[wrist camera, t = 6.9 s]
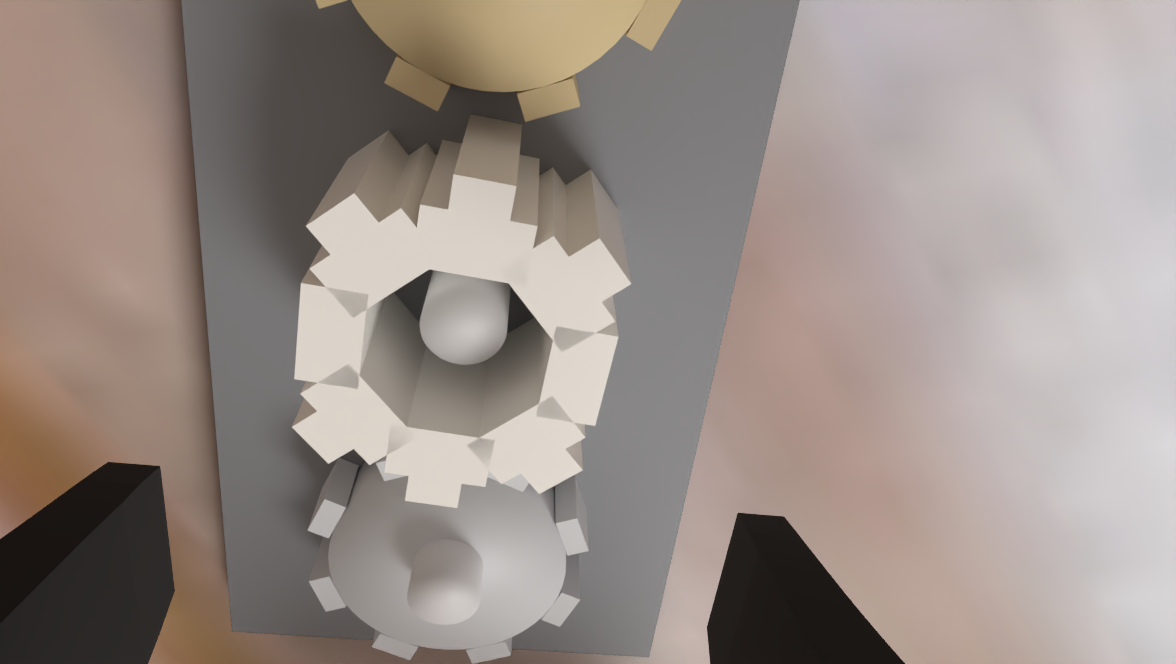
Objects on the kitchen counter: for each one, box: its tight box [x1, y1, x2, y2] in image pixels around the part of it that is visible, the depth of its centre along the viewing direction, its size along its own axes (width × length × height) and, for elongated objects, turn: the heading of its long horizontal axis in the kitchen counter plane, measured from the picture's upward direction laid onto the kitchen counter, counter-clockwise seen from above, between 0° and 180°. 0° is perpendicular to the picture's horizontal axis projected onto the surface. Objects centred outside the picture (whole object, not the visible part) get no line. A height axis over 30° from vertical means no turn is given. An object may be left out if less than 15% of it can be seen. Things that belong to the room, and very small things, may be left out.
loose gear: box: [292, 114, 631, 508], centre depth 17 cm, size 5×7×4 cm
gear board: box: [181, 0, 800, 664], centre depth 18 cm, size 11×22×4 cm, turn 173°
